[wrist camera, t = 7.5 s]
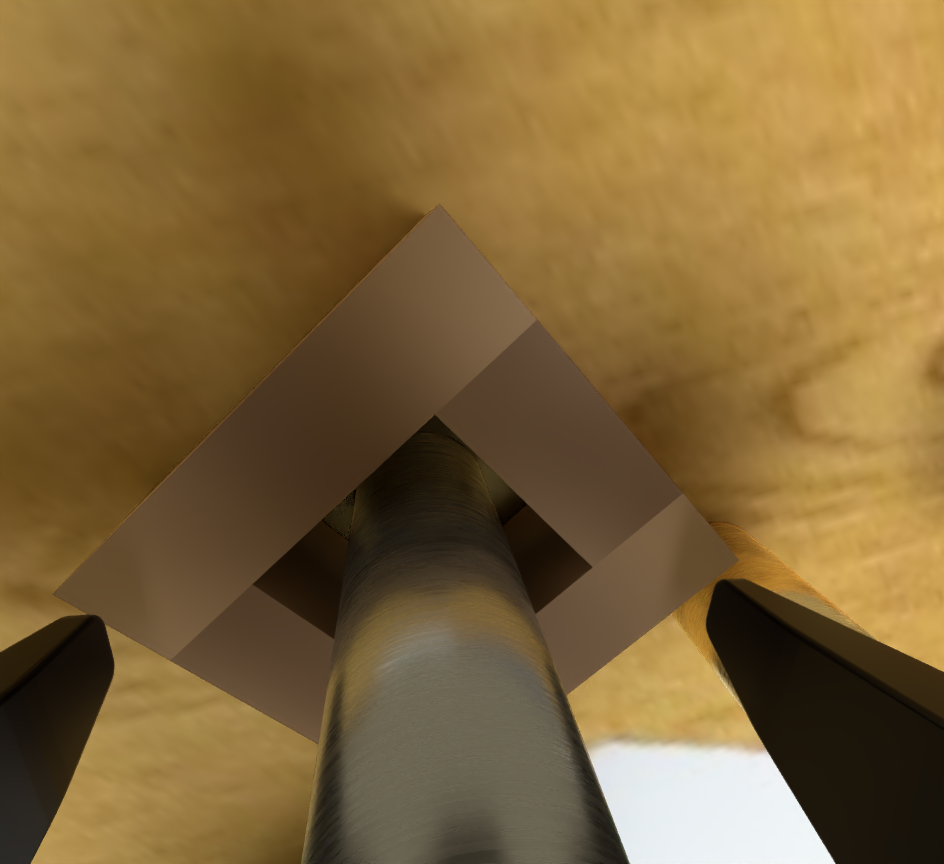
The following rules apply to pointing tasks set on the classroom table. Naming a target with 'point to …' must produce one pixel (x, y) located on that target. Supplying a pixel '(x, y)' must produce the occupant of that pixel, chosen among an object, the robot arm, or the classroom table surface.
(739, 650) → the robot arm
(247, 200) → the classroom table surface
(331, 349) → the collar
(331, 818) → the long pin
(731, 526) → the short pin
